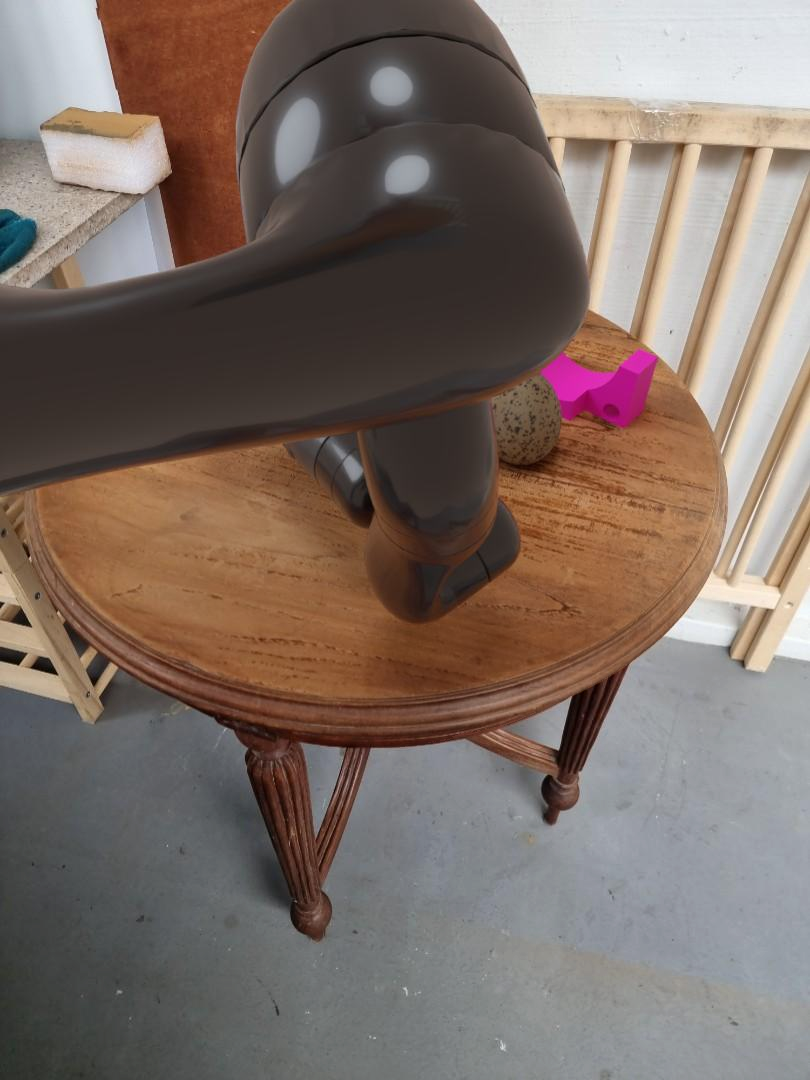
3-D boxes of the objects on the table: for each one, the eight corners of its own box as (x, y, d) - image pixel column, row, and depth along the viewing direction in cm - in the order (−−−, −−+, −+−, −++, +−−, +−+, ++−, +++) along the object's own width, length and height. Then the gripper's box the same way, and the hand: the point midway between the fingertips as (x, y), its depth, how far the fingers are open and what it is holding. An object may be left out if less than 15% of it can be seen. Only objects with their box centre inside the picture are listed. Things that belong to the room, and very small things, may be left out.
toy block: (485, 389, 82) (491, 327, 77) (519, 363, 86) (527, 302, 80) (608, 449, 76) (624, 386, 70) (640, 419, 79) (658, 356, 73)
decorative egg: (565, 447, 76) (582, 360, 69) (538, 491, 72) (553, 404, 64) (498, 425, 78) (507, 339, 71) (468, 467, 74) (475, 380, 67)
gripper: (401, 356, 62) (306, 271, 71) (236, 416, 57) (157, 316, 66) (401, 430, 67) (313, 342, 77) (251, 491, 62) (176, 388, 71)
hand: (241, 330), depth 71 cm, fingers open, 8 cm apart
